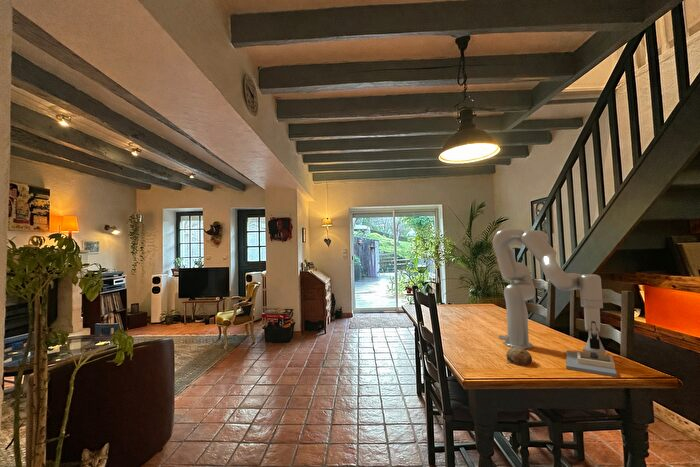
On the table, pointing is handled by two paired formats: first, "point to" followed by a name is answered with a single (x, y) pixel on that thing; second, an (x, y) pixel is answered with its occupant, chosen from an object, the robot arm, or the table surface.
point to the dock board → (591, 363)
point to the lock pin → (593, 352)
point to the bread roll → (519, 356)
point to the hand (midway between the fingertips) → (594, 346)
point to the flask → (594, 349)
